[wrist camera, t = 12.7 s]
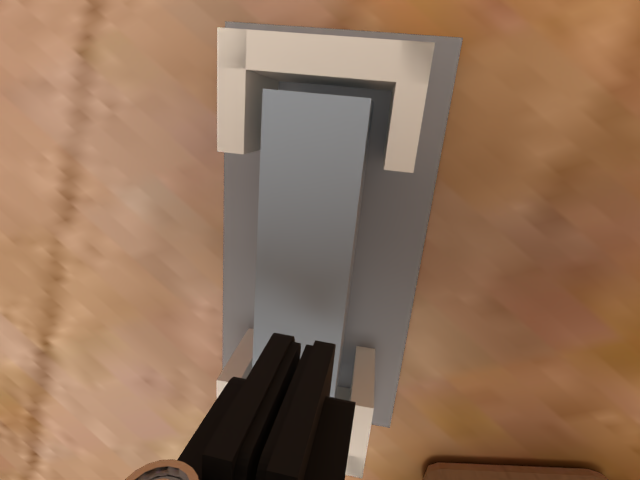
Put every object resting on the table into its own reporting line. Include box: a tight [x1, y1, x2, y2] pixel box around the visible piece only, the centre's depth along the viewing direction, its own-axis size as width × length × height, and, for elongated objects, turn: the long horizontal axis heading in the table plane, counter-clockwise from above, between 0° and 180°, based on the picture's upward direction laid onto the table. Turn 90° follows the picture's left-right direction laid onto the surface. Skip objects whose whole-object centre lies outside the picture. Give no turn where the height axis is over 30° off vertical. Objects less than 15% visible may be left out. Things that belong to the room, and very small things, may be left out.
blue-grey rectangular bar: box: [252, 89, 374, 398], centre depth 17 cm, size 14×4×5 cm, turn 175°
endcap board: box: [217, 21, 463, 478], centre depth 17 cm, size 10×20×5 cm, turn 175°
